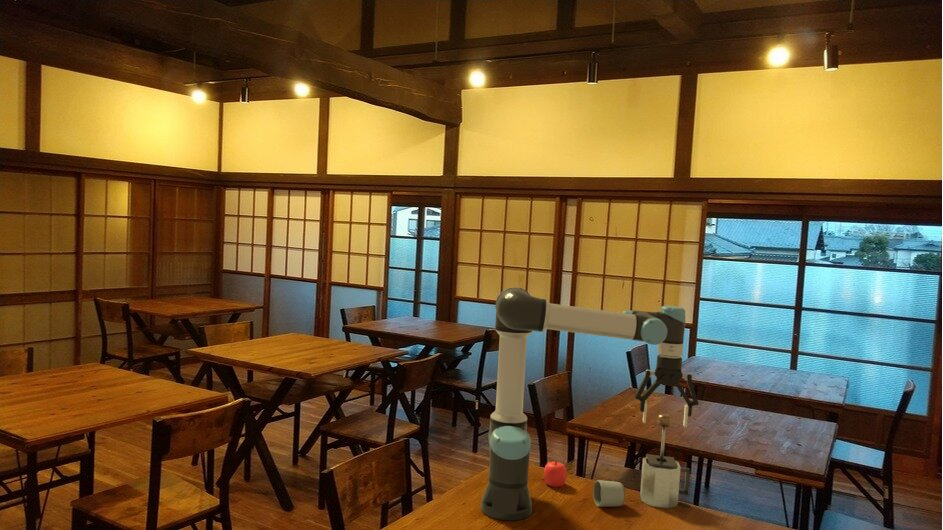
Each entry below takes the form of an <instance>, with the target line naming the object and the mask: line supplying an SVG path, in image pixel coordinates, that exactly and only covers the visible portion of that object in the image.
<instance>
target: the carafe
mask: <svg viewBox="0 0 943 530" xmlns="http://www.w3.org/2000/svg"><path fill="white" fill-rule="evenodd" d="M659 467H664V468H659ZM668 468H671V469H668ZM681 473H685V474H684V487H683V488H680V479H681V478H680V477H681ZM690 473H691V469H690V468H689V467H686V466H685V467H682V466H681V464H680V462H679V461H677V460H675V457H673V456H665V455H664V458H663V462H660V455H655V454H646V457H642V464H641V476H640V477H641V480H640V490H639V491H640V493H639V495H640V500H641V502H642V503H644V504H645V505H647V506H649V507H653V508H656V509H657V508H658V509H663V510H664V509H665V510H666V509H668V510H669V509H673V508H675V507H676V506H678V503H679V494H681V495H689V485H690V475H691V474H690Z"/></svg>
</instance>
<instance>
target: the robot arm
mask: <svg viewBox="0 0 943 530" xmlns="http://www.w3.org/2000/svg"><path fill="white" fill-rule="evenodd" d="M494 308H495V324H494V325H495V327H494V329H495V331H496V333H497V334H498V335H499V343H498V361H497V362H498V363H497V377H496V379H497V380H496V395H495V396H496V399H495V410H494V411H493V412H492V413H491V414H490V418H489V420H490V421H489V430H488V434H487V435H488V436H487V437H488V438H487V439H488V444H489V445H488V446H489V465H488V466H489V467H488V468H489V469H488V481H487V484H486V487H485V490H484V492H483V495H482V497H481V502H480V509H481V512H482V513H484V514H485V515H486V516H488V517H490V518H492V519H496V520H501V521H521V520H524V519H527V518H529V517H530V516H531V515H532V514H533V513H532V512H533V503H532V498H531V494H530V490H529V486H528V481H529V467H530V453H531V452H530V451H531V448H532V447H531V446H532V445H531V443H532V442H531V437H530V434H529V433H528V430H527V429H528V428H527V427H528V416H527V415H526V414H525V413H524V410H523V409H524V399H525V398H524V395H525V382H526V381H525V378H526V363H527V362H526V361H527V360H526V359H527V344H528V337H529V336H530V335H531V334H532V333H533V332H541V333H543V332H545V331H546V330H553V331H561V332H568V333H575V334H576V333H577V334H582V335H583V334H584V335H593V336H600V337H606V338H607V337H608V338H616V339H617V338H618V339H624V340H631V341H636V342H637V341H638V342H645V343H646V344H649V345H653V346H655V345H657V354H658V355H657V357H656V367H655V369H654V370H652V369H651V370H650V369H649V368H646V369H645V374H644V377H643V378H642V381H641V383H640V384H639V387H638V388H637V390H636V392H635V394H634V397H635V400H638V401H640V403H639V404H640V405H639V410H640V412H641V413H642V423H643V424H646V423H647V412H648V401H647V399H649V398H650V396H651V395H652V394H653V393H654V392H655V391H656V390H657V389H658V388H659V387H660V386H661V385H662V386H670V387H674V386H675V387H676V388H677V391H679V393H680V395H681V396H682V398H683V399H684V401H685V402H686V404H684V408H683V410H684V411H683V421H682V423H683V424H682V426H683V427H684V428H688V419H689V417H692V412H693V407H694V406H698V405H699V399H698V398H697V397H698V396H697V394H696V391H695V388H694V385H693V382H692V381H693V380H692V379H693V378H692V376H693V375H692V374H691V372H686V373H682V366H683V365H682V364H683V358H682V357H683V355H684V354H683V353H684V340H685V339H684V338H685V337H684V336H685V330H686V329H685V327H686V323H687V322H686V310H685V308H683V307H682V306H677V305H676V306H675V305H662V306H661V308H660V310H659V311H643V310H634V309H633V310H632V309H631V310H623V311H622V312H617V311H611V310H603V309H596V308H590V307H589V308H586V307H582V306H581V307H580V306H573V305H572V306H571V305H565V304H559V303H558V304H557V303H550V302H549V300H548V299H545V298H539V297H535V296H533V295H531V294H530V293H529V292H528V291H527V290H526V289H524V288H522V287H515V286H514V287H509V288H506V289H503V291H501V292H500V293H499V294H498V296H497V297H496V300H495V307H494ZM653 376H655V377H656V379H655V380H654V382H653V383H652V384H651V385H650V387H648V389H646V391H645V392H644V390H645V388H646V386H647V385H648V383H649V380H650V378H652V377H653ZM682 378H683V380H684V381H686V384H687V387H688V389H689V393H690V396H691V399H692V400H691V399H690V398H689V396H688V395H687V394H686V392H685V390H684V388H683V387H682V385H681V383H679V382H680V380H682ZM643 392H644V393H643Z"/></svg>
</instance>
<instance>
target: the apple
mask: <svg viewBox="0 0 943 530" xmlns="http://www.w3.org/2000/svg"><path fill="white" fill-rule="evenodd" d="M543 475H544V478H543V479H544V483H546V484H547V485H548V486H550V487H551V486H552V488H558V487H559V486H560V487H563V486H564V485H565V484H566V480H567V475H568V474H567V467H566V466H565V464H563V463H562V462H558V460H555V461H550V462H549V461H548V462H547V463H546V464H545V466H544V470H543Z"/></svg>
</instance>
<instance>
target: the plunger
mask: <svg viewBox="0 0 943 530" xmlns="http://www.w3.org/2000/svg"><path fill="white" fill-rule="evenodd" d="M672 418H673V416H672V415H671V414H667V413H658V417H657V426H660V427H661V428H662V430H661V443H660V444H661V445H660V455H659V456H660V462H663V458H664V456H665V442H666V430H667V428H671V426H672V420H673V419H672ZM659 468H664V467H659ZM668 469H671V468H668Z"/></svg>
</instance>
